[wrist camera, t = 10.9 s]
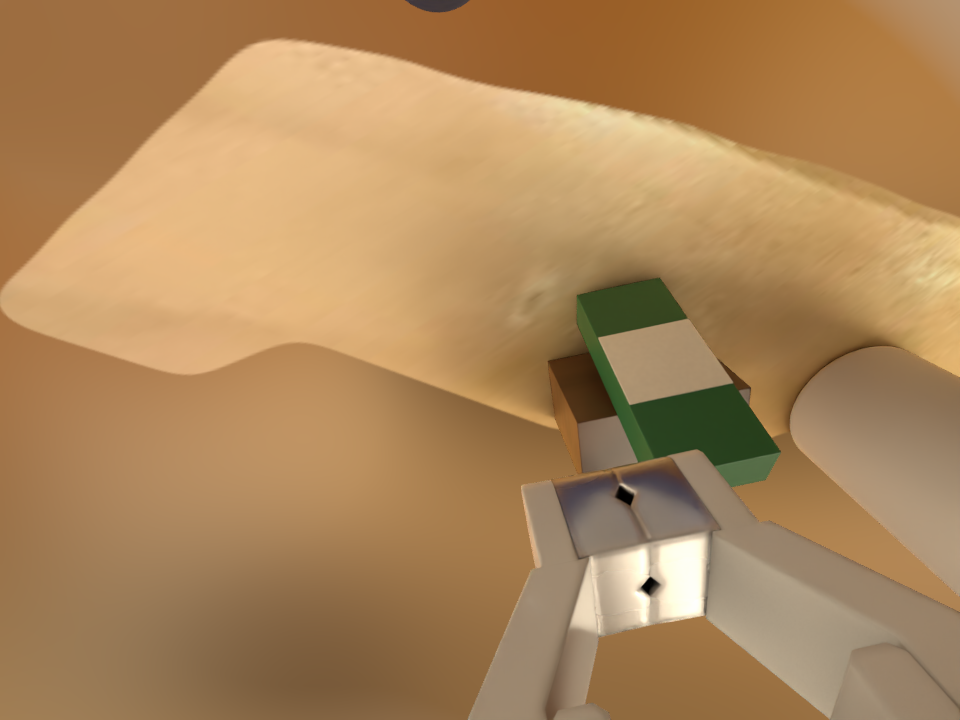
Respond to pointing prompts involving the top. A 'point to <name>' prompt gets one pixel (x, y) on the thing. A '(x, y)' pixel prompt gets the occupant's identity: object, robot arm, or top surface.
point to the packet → (670, 382)
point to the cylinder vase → (891, 446)
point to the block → (595, 414)
